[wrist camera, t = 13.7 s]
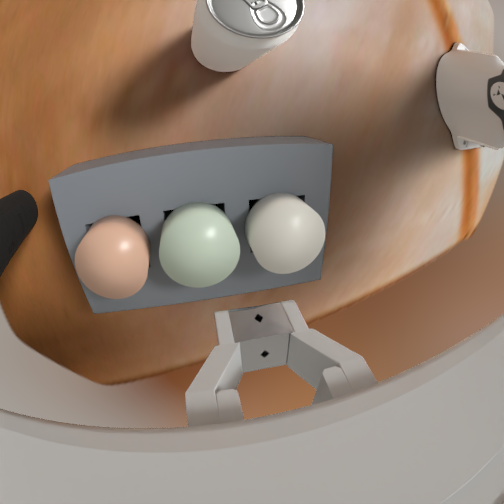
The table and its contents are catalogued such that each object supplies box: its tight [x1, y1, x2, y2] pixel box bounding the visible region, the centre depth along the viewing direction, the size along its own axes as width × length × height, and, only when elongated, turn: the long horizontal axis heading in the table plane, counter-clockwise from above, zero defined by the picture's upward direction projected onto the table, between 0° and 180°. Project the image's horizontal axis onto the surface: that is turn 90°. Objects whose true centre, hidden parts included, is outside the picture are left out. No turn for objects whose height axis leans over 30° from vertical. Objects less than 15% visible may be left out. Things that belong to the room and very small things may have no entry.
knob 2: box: [245, 193, 325, 274], centre depth 25 cm, size 6×6×8 cm
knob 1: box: [75, 215, 151, 299], centre depth 22 cm, size 6×6×8 cm
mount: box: [49, 136, 333, 314], centre depth 25 cm, size 24×14×6 cm, turn 91°
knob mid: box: [159, 202, 240, 288], centre depth 23 cm, size 6×6×8 cm
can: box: [191, 0, 304, 72], centre depth 15 cm, size 6×6×12 cm
